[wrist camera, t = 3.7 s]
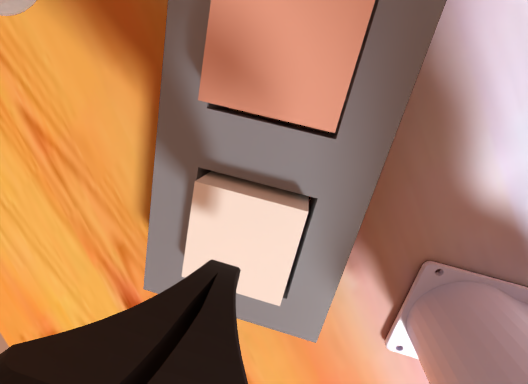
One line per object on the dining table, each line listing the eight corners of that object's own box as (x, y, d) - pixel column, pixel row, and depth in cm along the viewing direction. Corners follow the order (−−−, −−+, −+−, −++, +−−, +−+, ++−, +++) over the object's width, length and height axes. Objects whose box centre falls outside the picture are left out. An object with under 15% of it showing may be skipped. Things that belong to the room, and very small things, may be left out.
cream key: (308, 193, 16) (308, 211, 13) (284, 275, 18) (279, 306, 15) (214, 169, 16) (194, 181, 13) (201, 250, 18) (181, 276, 15)
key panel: (433, -36, 13) (482, -94, 10) (314, 300, 21) (316, 342, 17) (213, -76, 14) (180, -141, 11) (172, 258, 22) (143, 289, 18)
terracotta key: (369, -6, 12) (388, -43, 9) (329, 128, 14) (334, 133, 11) (240, -31, 12) (220, -74, 9) (220, 102, 14) (197, 100, 11)
